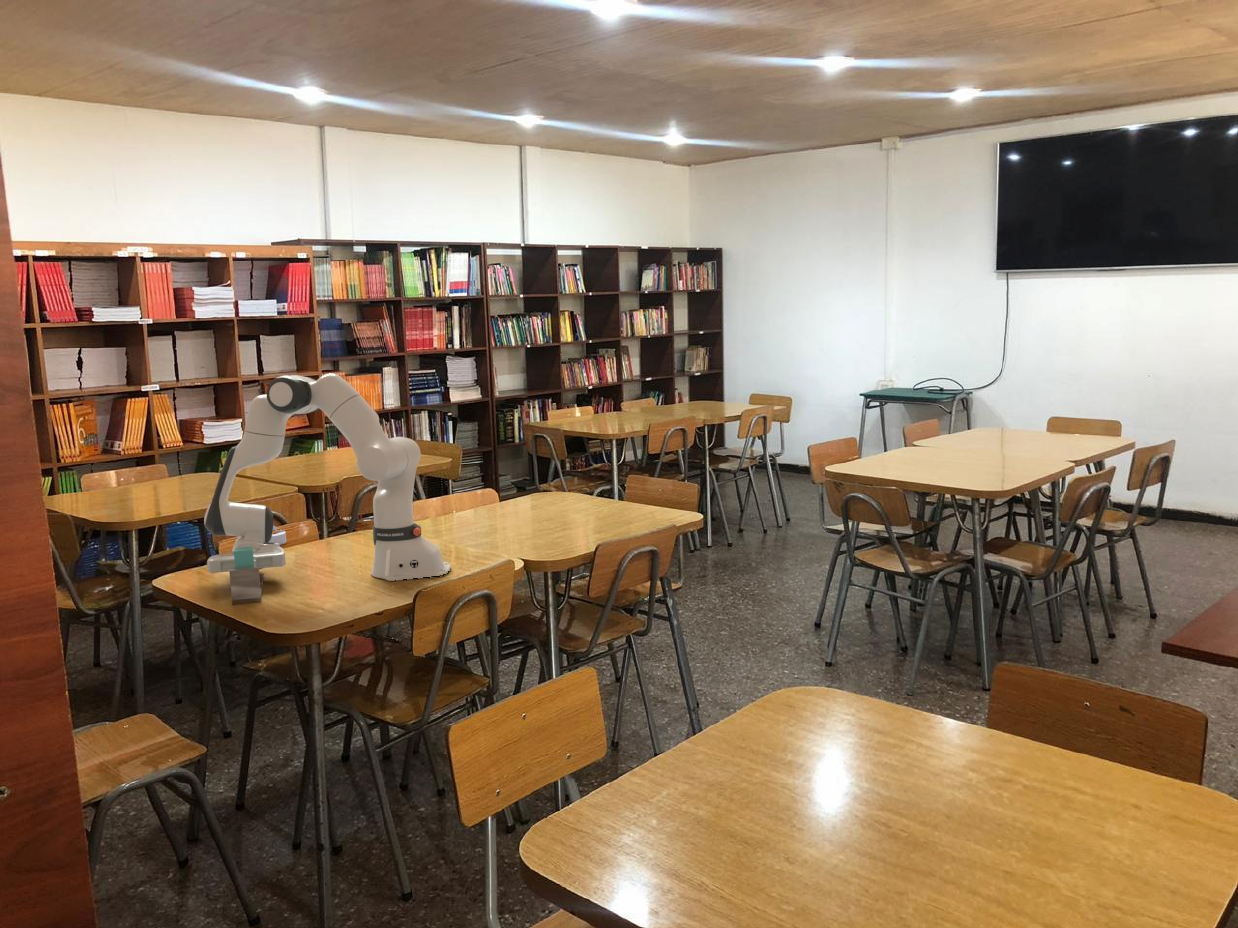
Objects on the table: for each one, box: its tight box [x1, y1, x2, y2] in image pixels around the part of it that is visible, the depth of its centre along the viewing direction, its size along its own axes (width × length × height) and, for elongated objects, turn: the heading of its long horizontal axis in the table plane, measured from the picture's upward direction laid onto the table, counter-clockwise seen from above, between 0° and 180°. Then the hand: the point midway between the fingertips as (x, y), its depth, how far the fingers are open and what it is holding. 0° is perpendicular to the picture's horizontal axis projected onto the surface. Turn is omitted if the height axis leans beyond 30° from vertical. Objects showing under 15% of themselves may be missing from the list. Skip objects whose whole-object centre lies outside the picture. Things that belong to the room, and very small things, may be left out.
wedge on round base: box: [268, 524, 287, 546], centre depth 317 cm, size 9×7×13 cm
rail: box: [228, 567, 265, 606], centre depth 258 cm, size 26×7×9 cm, turn 19°
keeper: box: [234, 546, 254, 569], centre depth 250 cm, size 4×4×12 cm
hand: (246, 567), depth 255 cm, fingers closed
